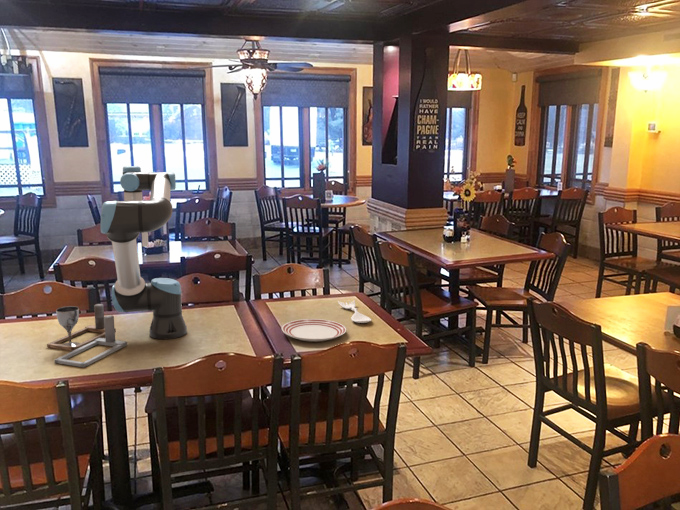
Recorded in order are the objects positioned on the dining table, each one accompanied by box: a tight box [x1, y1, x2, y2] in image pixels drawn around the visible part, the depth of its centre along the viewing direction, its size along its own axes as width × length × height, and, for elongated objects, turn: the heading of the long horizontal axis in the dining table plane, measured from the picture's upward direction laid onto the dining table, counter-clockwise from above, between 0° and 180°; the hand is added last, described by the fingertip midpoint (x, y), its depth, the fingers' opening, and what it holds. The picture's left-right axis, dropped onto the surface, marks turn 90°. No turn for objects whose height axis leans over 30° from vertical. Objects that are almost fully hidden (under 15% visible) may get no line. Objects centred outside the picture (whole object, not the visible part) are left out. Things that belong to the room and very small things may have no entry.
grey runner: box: [53, 314, 128, 368], centre depth 221 cm, size 13×24×12 cm, turn 163°
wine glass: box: [55, 305, 81, 346], centre depth 229 cm, size 8×8×15 cm
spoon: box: [337, 299, 373, 324], centre depth 275 cm, size 9×32×4 cm, turn 15°
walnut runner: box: [46, 303, 117, 352], centre depth 236 cm, size 13×24×12 cm, turn 163°
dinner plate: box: [281, 318, 347, 343], centre depth 247 cm, size 27×27×3 cm
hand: (136, 249), depth 261 cm, fingers open, 13 cm apart
